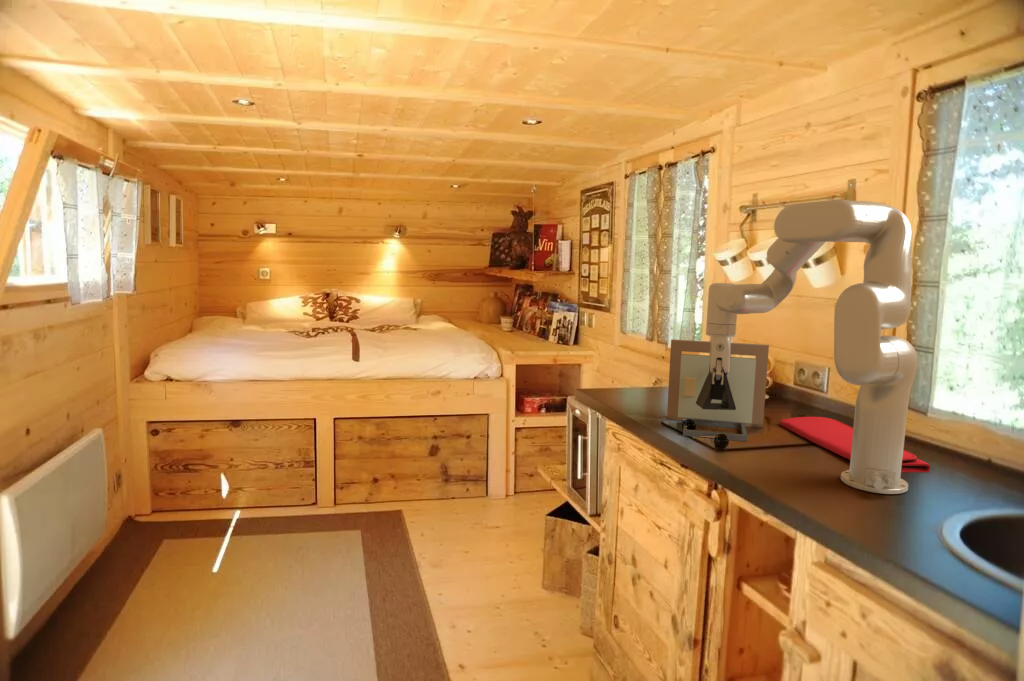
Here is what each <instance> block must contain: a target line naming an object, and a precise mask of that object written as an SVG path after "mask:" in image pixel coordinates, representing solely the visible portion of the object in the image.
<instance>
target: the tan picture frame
mask: <svg viewBox="0 0 1024 681" xmlns="http://www.w3.org/2000/svg"><path fill="white" fill-rule="evenodd" d="M769 349H770V345H769V344H763V343H762V344H760V343H747V342H746V343H743V342H742V343H741V342H731V355H737V356H738V357H737V356H730V371H729V374H728V375H727V379H728V382H729V386H730V389H731V393H732V396H733V400H734V403H735V407H736V410H719V409H718V410H709V409H702V408H701V407H700V406H698V405H697V404H696V401H697V399H698V396H699V394H700V392H701V389H702V387H703V385H704V382H705V380H706V378H707V376H708V373H709V365H710V362H709V355H706V354H709V353H710V340H709V341H707V340H690V339H688V340H687V339H674V338H673V339H670V352H669V353H670V355H669V357H670V358H669V372H668V374H669V375H668V391H667V408H666V409H667V410H666V411H667V413H666V420H669V421H670V420H671V421H679V422H680V421H681V422H683V421H682V420H683V419H685V418H696V419H707V420H719V421H730V422H742V423H745V427H747V428H749V427H750V428H757V429H758V428H761V429H763V428H764V418H765V417H764V416H765V405H766V388H767V376H768V363H769V351H770V350H769ZM683 352H685V353H683ZM688 352H689V353H688ZM691 353H700V354H691ZM701 353H703V354H701ZM704 353H705V354H704ZM739 355H740V356H741V357H740V356H739ZM742 356H750V357H742ZM752 356H753V357H752ZM754 357H755V358H754ZM721 402H722V401H721V400H714V399H712V400H711V403H721Z"/></svg>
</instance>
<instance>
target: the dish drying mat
mask: <svg viewBox="0 0 1024 681" xmlns="http://www.w3.org/2000/svg"><path fill="white" fill-rule="evenodd" d="M778 423H779V425H780V426H782V427H784V428H786V429H787V430H789V431H791V432H793V433H795V434H797V435H799V436H800V437H802V438H804V439H806V440H808V441H810V442H811V443H813V444H816V445H817V446H820V447H822V448H823V449H826V450H829V451H830V452H832V453H834V454H835V455H839V456H841V457H843V458H845V459H847V460H849V461H850V459H851V448H852V438H853V427H854V426H850V425H849V424H846V423H844V422H842V421H840V420H837V419H834V418H830V417H824V416H796V417H787V418H784V419H780V421H779V422H778ZM930 471H931V465H930V464H929V463H927V462H926V461H923V460H921V459H919V458H918V456H917V455H916V454H914V453H912V452H910V451H908V450H905V449H903V458H902V468H901V473H929V472H930Z"/></svg>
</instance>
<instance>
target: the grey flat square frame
mask: <svg viewBox="0 0 1024 681" xmlns="http://www.w3.org/2000/svg"><path fill="white" fill-rule="evenodd" d="M685 419H691V420H693V421H694V422H695V423H696V425H695V426H709V427H718V428H719V427H720V428H731V429H740V434H739V433H731V432H721V431H720V432H719V431H707V430H698V429H687V427H688V428H689V425H688V426H685V425H684V424H683V429H682V436H683V437H684V436H685V437H693V436H715V435H717V434H725V435H726V436H727V438H728V441H737V442H748V433H747V428H746V427H747V426H745V423H742V422H730V421H719V420H707V419H696V418H685Z"/></svg>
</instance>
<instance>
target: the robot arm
mask: <svg viewBox="0 0 1024 681" xmlns="http://www.w3.org/2000/svg"><path fill="white" fill-rule="evenodd" d="M773 228H774V229H773V230H774V233H775V235H776V237H777V239H775V241H773V243H772V244H771V245H770V246H769V247H768V249H767V251H766V257H767V260H768V262H769V264H770V265H771V266H772V268H774V269H773V271H772V272H771V273H770V274H769V276H768V277H767V278H765V280H763V282H762V283H745V284H743V283H742V284H741V283H738V284H735V283H728V282H713V283H711V284H710V285H709V287H708V294H707V296H708V297H707V309H706V310H707V312H706V325H705V326H706V327H705V335H706V336H709V341H710V353H708V354H709V362H710V372H711V373H713V377H712V384H711V393H710V399H714V400H723V390H724V385H723V377H724V372H725V373H727V375H728V374H729V371H730V357H732V356H731V355H732V354H731V343H732V338H736V335H737V334H736V333H737V319H738V315H749V314H765V313H768V312H769V313H770V311H772V310H774V309H776V308H777V306H779V304H781V303H782V302H783V301H784V300H785V299H786V298H787V297H788V296H789V295H790V293H791V292H792V291H793V288H794V286H795V284H796V280H797V275H798V274H797V272H799V270H800V269H801V268H803V266H804V265H805V264H806V263H807V262H808V261H809V260H810V258H812V257H813V256H814V255H815V254H816V253H817V252H818V251H819V250H820V249H821V248H822V247H823V246H824V245H825V244H826V243H830V242H831V243H832V242H833V243H835V242H836V243H866V244H869V248H868V250H867V252H866V254H865V258H864V262H863V282H861V283H860V282H859V283H856V284H855V283H854V284H852V285H849V286H848V287H847V288H845V289H844V290H843V291H842V292H841V293H840V294H839V296H838V298H837V300H836V303H835V306H834V307H835V308H834V316H833V319H834V320H833V321H834V322H833V324H834V325H833V326H834V328H833V338H834V339H833V359H834V365H835V369H836V371H837V373H838V374H839V376H840V377H841V379H842V380H843V381H845V382H846V383H848V384H852V385H854V386H859V388H858V390H857V395H856V400H855V409H854V415H853V416H854V418H853V426H852V427H853V438H852V448H851V459H850V460H849V469H847V470H844V471H842V472H841V474H840V480H841V481H842V483H844V484H845V485H847V486H849V487H851V488H854V489H857V490H861V491H864V492H869V493H875V494H881V495H882V494H883V495H900V494H904V493H906V492H908V490H909V482H907V481H906V480H905V479H903V478H901V476H902V472H901V468H902V458H903V450H904V448H905V437H906V428H907V417H908V410H909V402H910V396H911V395H910V394H911V390H912V387H913V382H914V379H915V376H916V372H917V369H918V354H917V351H916V349H915V347H914V346H913V344H912V343H910V341H908V340H907V339H905V338H903V337H900V336H897V335H882V330H886V329H887V330H890V329H895V328H898V327H901V326H902V325H904V324H905V323H906V322H907V321H908V320H909V318H910V316H911V311H912V310H911V309H912V248H913V226H912V224H911V222H910V220H909V218H908V217H907V215H906V214H905V213H904V212H902V211H901V210H900V209H898V208H896V207H895V206H892V205H890V204H886V203H881V202H875V201H865V200H864V201H863V200H849V199H833V200H824V201H823V200H822V201H812V202H804V203H803V202H802V203H800V202H799V203H793V204H790V205H787V206H786V207H784V208H783V209H782V210H781V211H779V213H778V214H777V216H776V217H775V220H774V223H773ZM716 363H717V364H716ZM714 369H715V371H716V372H714ZM721 371H722V373H721ZM714 379H715V381H714Z"/></svg>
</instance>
